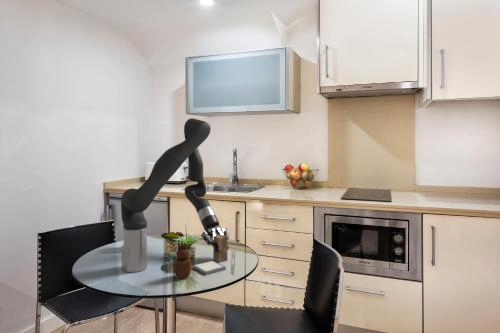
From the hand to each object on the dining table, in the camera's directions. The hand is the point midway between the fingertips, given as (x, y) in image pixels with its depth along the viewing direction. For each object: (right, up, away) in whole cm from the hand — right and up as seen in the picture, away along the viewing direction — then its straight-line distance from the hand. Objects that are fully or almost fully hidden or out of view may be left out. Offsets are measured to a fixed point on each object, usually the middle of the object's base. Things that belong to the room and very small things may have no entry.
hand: (222, 250), depth 155 cm
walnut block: (-1, -5, +2) cm, 6 cm away
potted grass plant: (-14, -6, -18) cm, 24 cm away
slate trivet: (-5, -6, -9) cm, 12 cm away
